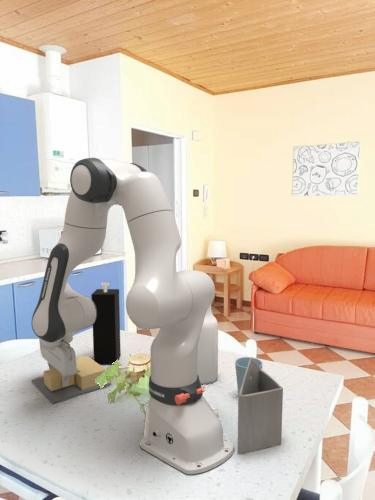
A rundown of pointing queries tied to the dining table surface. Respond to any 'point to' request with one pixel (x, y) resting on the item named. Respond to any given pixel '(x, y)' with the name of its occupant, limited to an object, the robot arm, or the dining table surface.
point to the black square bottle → (106, 325)
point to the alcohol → (208, 350)
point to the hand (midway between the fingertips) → (59, 380)
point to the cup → (243, 369)
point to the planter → (259, 410)
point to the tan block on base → (75, 382)
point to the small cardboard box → (55, 379)
